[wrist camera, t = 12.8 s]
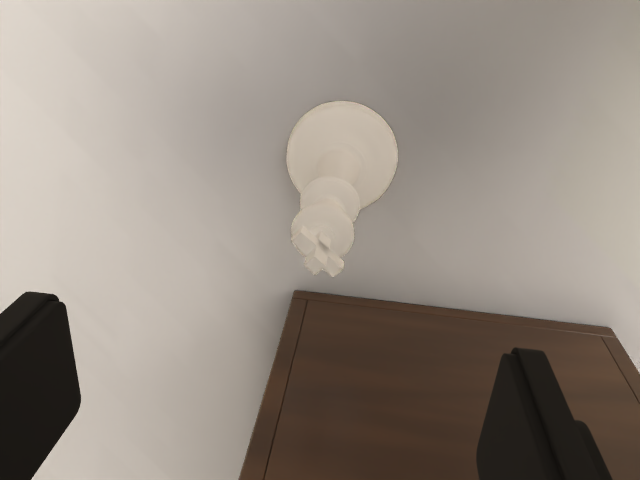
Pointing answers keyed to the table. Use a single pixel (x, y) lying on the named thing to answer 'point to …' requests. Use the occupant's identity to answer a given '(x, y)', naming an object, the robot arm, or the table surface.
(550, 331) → the chest
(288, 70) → the table surface
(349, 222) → the chess piece
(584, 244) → the table surface
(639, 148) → the table surface
